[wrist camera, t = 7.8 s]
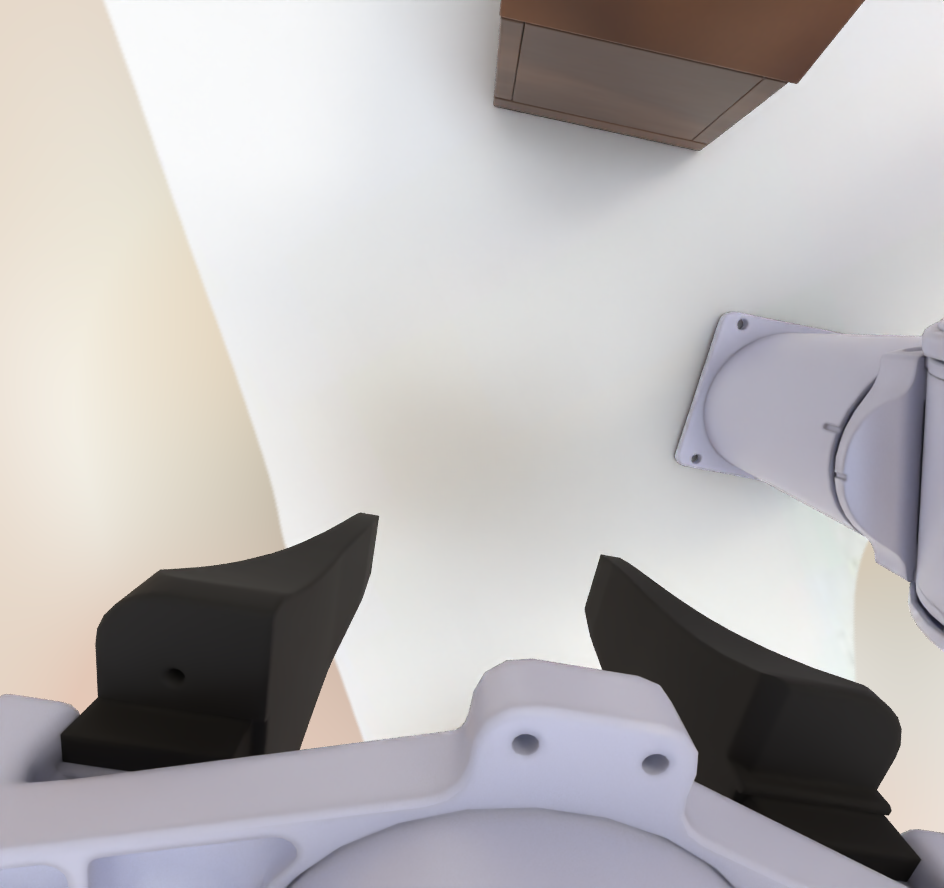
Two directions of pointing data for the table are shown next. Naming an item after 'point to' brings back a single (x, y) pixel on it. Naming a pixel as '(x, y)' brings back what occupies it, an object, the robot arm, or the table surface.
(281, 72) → the table surface
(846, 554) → the table surface
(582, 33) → the bin lid
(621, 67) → the bin
